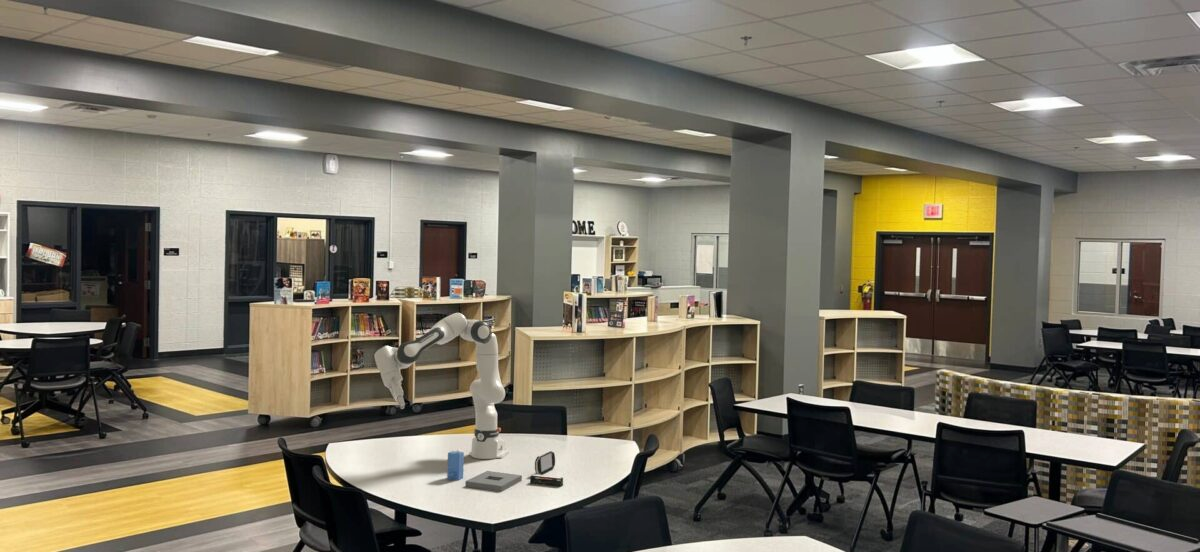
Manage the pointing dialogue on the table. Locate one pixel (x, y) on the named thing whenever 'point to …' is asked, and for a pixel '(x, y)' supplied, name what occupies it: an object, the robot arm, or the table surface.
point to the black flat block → (546, 480)
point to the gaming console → (545, 463)
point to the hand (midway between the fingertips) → (403, 406)
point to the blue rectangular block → (455, 465)
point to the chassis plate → (493, 481)
